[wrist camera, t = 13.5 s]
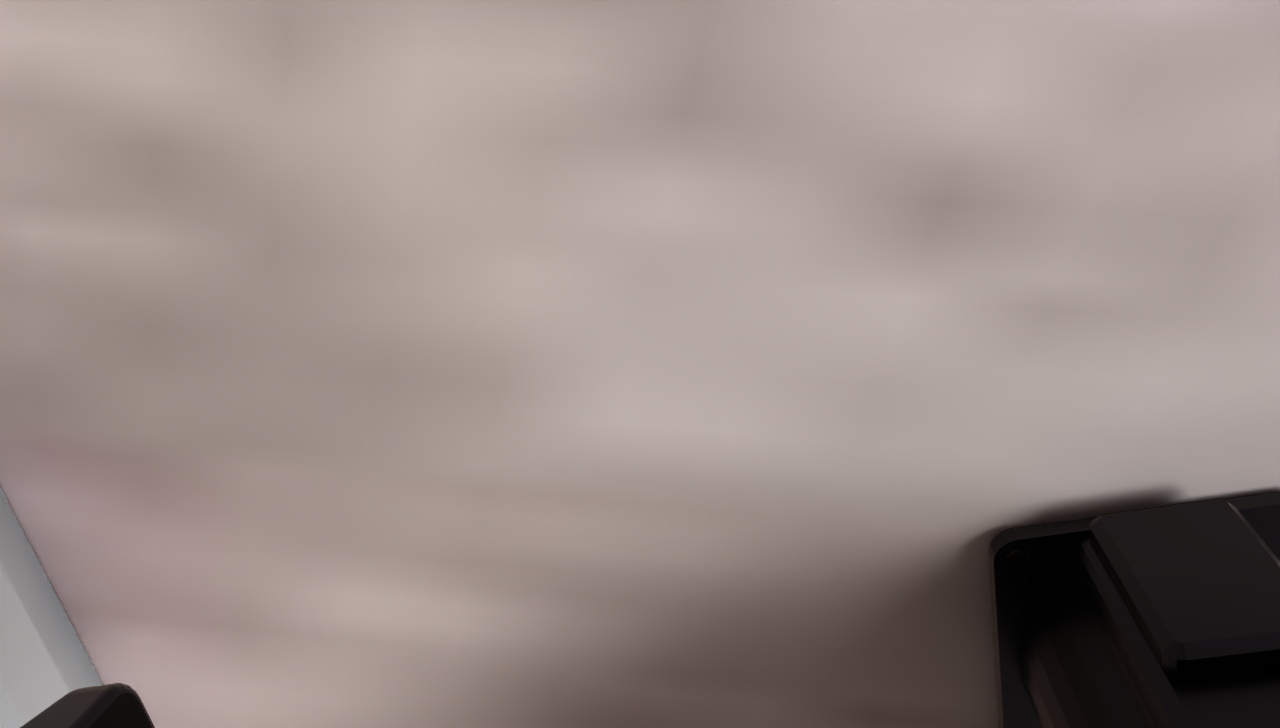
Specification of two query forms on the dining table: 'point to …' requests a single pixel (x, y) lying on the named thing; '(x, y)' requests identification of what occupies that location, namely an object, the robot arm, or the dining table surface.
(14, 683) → the plastic tray
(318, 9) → the dining table surface
